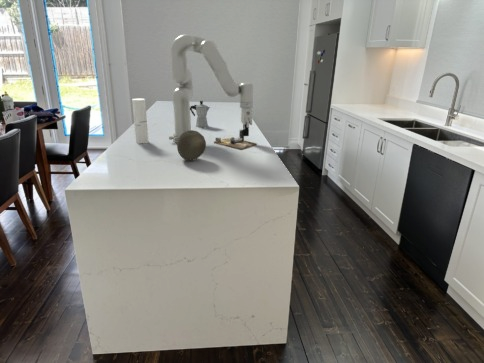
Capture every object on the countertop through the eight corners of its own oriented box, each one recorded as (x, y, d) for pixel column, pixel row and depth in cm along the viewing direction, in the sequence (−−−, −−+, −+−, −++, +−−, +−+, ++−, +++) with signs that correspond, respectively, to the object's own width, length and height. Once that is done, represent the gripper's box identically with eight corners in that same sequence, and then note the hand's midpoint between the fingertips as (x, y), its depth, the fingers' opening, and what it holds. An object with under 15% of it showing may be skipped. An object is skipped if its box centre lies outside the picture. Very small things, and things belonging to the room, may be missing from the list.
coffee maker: (211, 125, 249) (211, 100, 243) (209, 127, 241) (209, 102, 234) (191, 124, 250) (190, 99, 244) (188, 127, 242) (187, 101, 236)
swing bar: (232, 143, 199) (233, 133, 197) (229, 142, 200) (229, 132, 198) (244, 139, 207) (245, 130, 205) (241, 138, 209) (241, 129, 207)
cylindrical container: (149, 143, 201) (145, 100, 192) (136, 143, 198) (132, 100, 189) (147, 140, 207) (144, 98, 198) (135, 140, 204) (131, 98, 195)
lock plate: (240, 149, 191) (240, 144, 190) (213, 142, 204) (213, 137, 202) (256, 144, 202) (256, 139, 201) (230, 138, 214) (230, 133, 213)
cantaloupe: (179, 165, 164) (177, 135, 159) (176, 156, 177) (175, 128, 172) (208, 163, 168) (207, 133, 163) (203, 155, 181) (202, 127, 175)
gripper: (255, 106, 191) (254, 138, 198) (249, 102, 204) (248, 132, 211) (242, 107, 189) (242, 139, 196) (237, 103, 203) (237, 133, 210)
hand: (245, 135), depth 204 cm, fingers closed
